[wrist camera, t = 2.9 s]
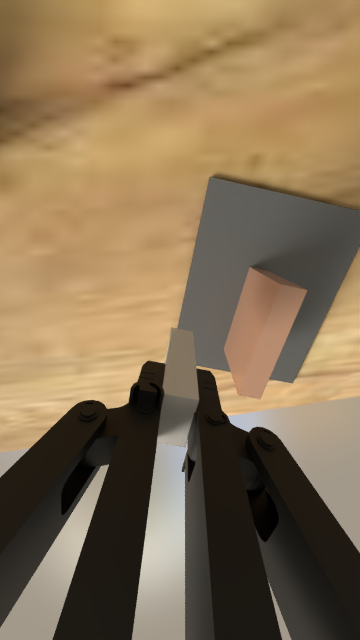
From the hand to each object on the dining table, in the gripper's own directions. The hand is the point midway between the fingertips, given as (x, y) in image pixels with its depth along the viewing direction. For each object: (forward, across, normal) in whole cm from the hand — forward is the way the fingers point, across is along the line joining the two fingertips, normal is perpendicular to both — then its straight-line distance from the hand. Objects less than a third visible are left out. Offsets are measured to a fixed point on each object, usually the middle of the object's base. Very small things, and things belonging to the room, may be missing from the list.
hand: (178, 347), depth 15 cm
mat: (+11, +8, +2) cm, 14 cm away
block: (+10, +7, 0) cm, 12 cm away
